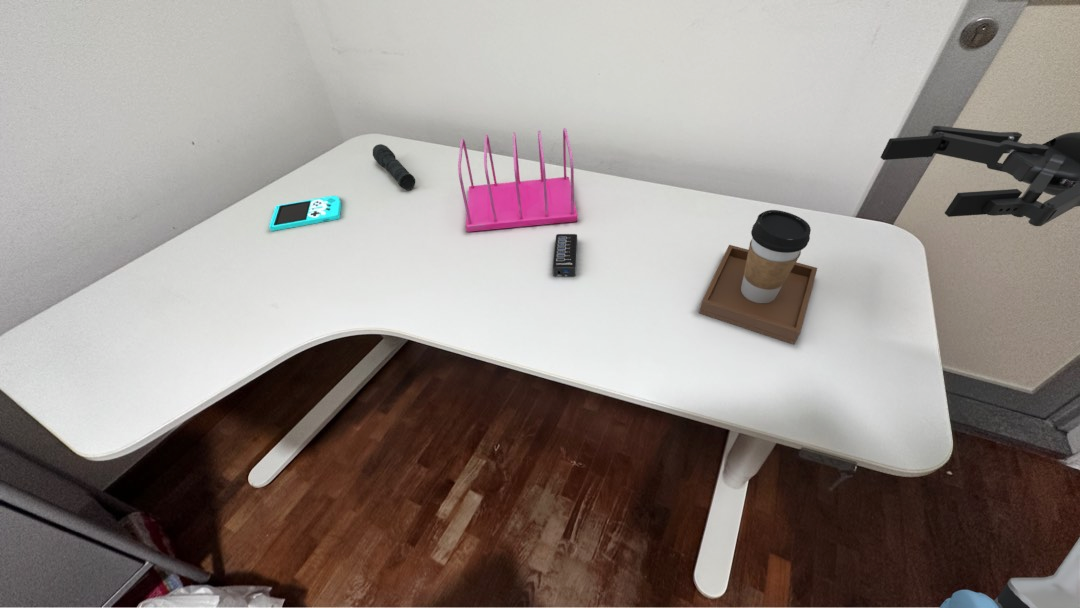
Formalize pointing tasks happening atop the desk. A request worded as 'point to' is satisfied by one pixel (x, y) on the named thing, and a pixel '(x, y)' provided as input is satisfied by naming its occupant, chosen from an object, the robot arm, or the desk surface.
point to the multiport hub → (565, 255)
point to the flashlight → (393, 166)
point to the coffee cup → (773, 253)
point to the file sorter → (519, 195)
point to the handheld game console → (305, 213)
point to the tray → (763, 318)
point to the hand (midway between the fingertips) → (916, 174)
